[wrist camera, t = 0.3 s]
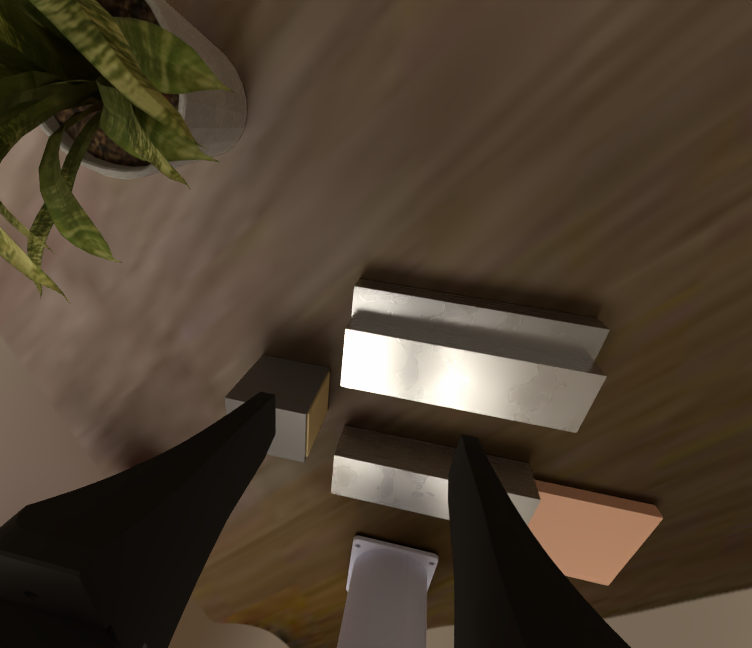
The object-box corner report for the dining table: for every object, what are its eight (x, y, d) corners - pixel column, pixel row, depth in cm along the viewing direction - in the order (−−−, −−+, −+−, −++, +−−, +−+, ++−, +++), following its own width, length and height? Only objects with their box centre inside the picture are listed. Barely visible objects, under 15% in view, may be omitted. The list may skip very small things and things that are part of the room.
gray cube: (328, 410, 25) (305, 462, 21) (265, 397, 26) (229, 446, 21) (331, 367, 24) (307, 414, 19) (263, 354, 24) (224, 397, 20)
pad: (602, 572, 28) (608, 585, 28) (496, 547, 29) (498, 559, 28) (655, 505, 24) (663, 518, 23) (529, 478, 25) (533, 490, 24)
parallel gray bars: (505, 514, 27) (513, 552, 25) (339, 477, 28) (329, 509, 26) (597, 318, 19) (624, 343, 16) (359, 278, 20) (348, 295, 18)
